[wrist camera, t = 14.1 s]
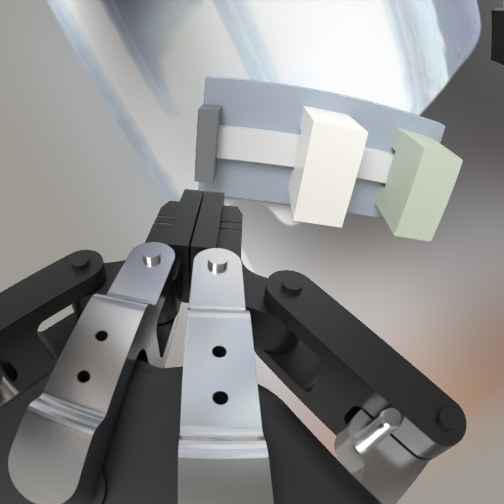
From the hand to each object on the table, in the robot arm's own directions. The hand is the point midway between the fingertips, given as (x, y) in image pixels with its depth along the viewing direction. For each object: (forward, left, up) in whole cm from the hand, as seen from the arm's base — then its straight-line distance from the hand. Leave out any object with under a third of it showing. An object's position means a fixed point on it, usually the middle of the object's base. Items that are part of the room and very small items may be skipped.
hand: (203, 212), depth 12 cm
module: (+9, -4, -24) cm, 26 cm away
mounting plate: (+10, -4, -25) cm, 27 cm away
